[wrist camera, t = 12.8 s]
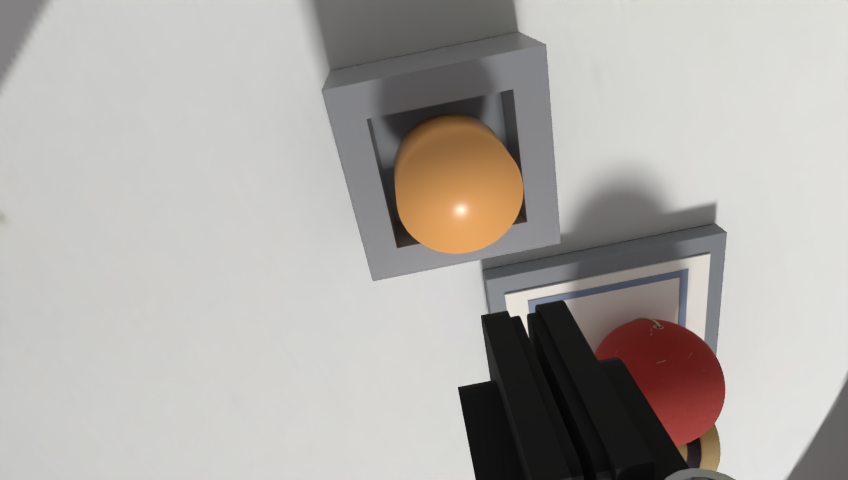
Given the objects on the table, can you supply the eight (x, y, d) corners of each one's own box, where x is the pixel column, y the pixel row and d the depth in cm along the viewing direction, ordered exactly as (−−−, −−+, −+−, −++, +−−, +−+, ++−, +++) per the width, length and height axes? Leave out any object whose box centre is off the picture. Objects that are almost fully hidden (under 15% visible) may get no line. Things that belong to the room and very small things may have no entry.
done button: (382, 125, 20) (383, 149, 18) (498, 101, 20) (516, 122, 18) (405, 228, 22) (410, 264, 20) (510, 207, 22) (529, 240, 20)
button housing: (330, 70, 22) (321, 90, 19) (518, 31, 22) (545, 44, 19) (372, 238, 26) (372, 281, 23) (535, 205, 26) (560, 243, 22)
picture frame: (482, 270, 27) (486, 282, 26) (715, 223, 27) (728, 233, 26) (524, 537, 38) (528, 553, 36) (694, 504, 37) (703, 519, 36)
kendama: (635, 503, 37) (740, 305, 27) (658, 605, 32) (799, 409, 22) (522, 487, 37) (583, 286, 27) (526, 586, 32) (604, 383, 22)
